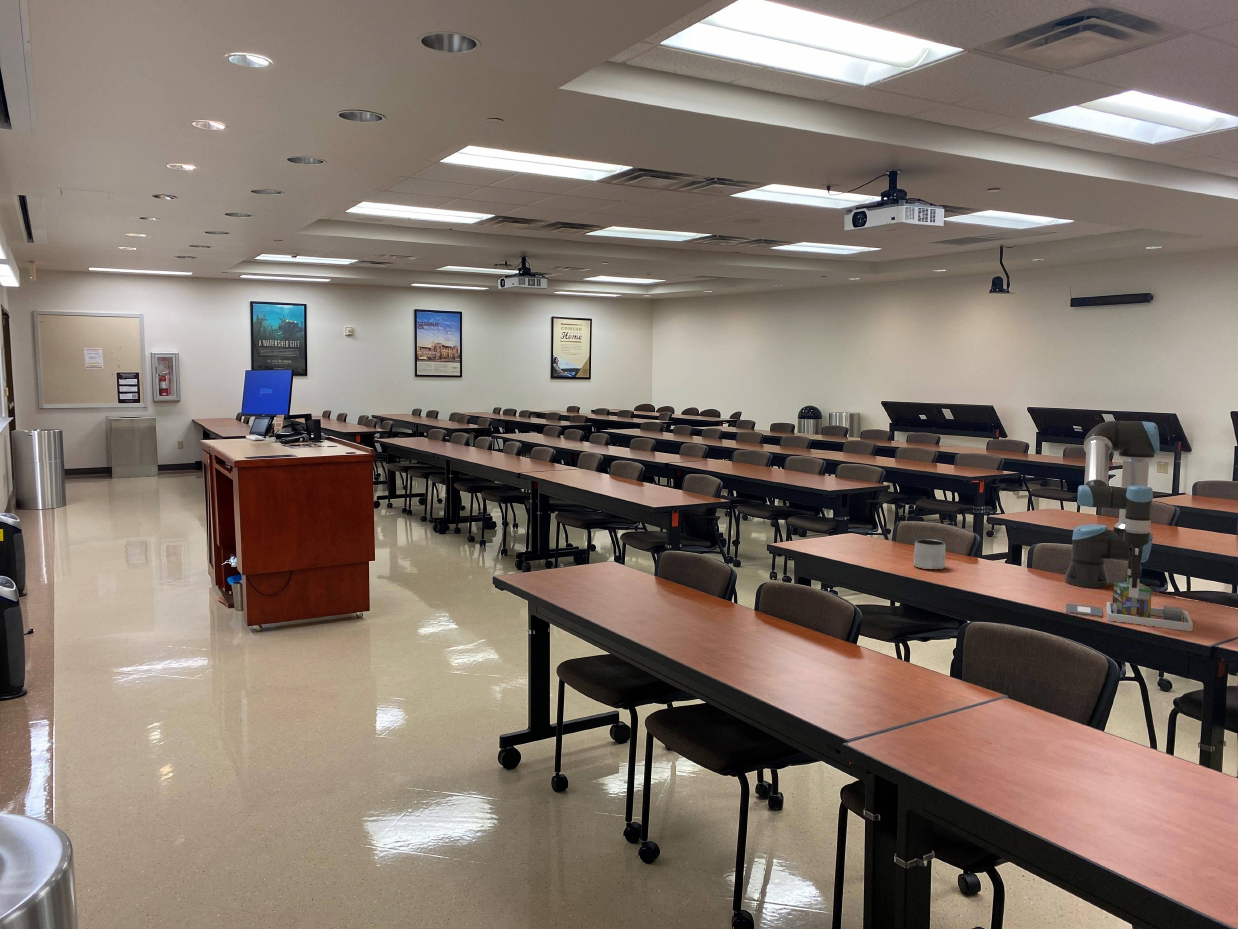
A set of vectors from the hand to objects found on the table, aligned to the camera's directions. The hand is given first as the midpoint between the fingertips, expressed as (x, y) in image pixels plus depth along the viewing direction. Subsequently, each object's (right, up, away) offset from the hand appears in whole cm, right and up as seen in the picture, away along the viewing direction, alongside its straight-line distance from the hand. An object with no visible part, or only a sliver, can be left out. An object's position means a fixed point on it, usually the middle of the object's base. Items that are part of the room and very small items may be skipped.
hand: (1132, 592), depth 289 cm
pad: (-12, -8, +9) cm, 17 cm away
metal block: (+11, -10, -4) cm, 15 cm away
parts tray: (+5, -9, -1) cm, 10 cm away
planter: (-43, 0, +72) cm, 84 cm away
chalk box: (0, -9, +1) cm, 9 cm away
